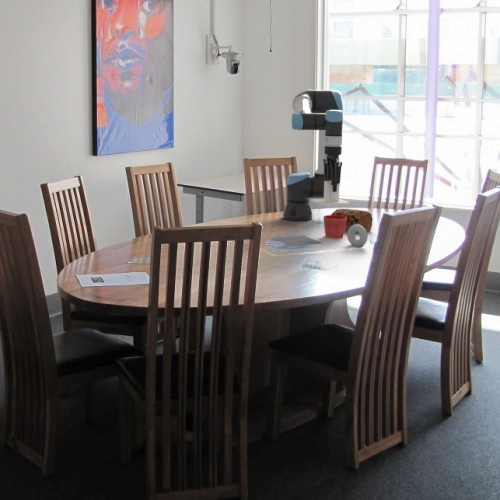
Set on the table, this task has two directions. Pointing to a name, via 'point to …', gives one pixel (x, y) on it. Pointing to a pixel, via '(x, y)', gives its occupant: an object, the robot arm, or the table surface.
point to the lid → (327, 201)
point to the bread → (355, 218)
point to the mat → (297, 240)
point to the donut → (362, 233)
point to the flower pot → (334, 226)
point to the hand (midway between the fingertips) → (331, 198)
